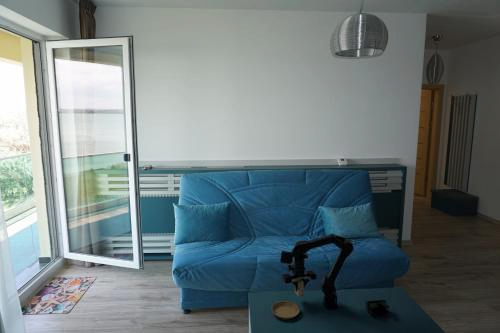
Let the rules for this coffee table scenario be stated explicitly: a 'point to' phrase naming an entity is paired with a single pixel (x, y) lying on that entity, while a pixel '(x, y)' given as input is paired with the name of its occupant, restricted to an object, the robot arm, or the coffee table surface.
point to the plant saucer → (285, 309)
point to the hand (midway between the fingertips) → (299, 291)
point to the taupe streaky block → (299, 287)
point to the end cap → (377, 308)
